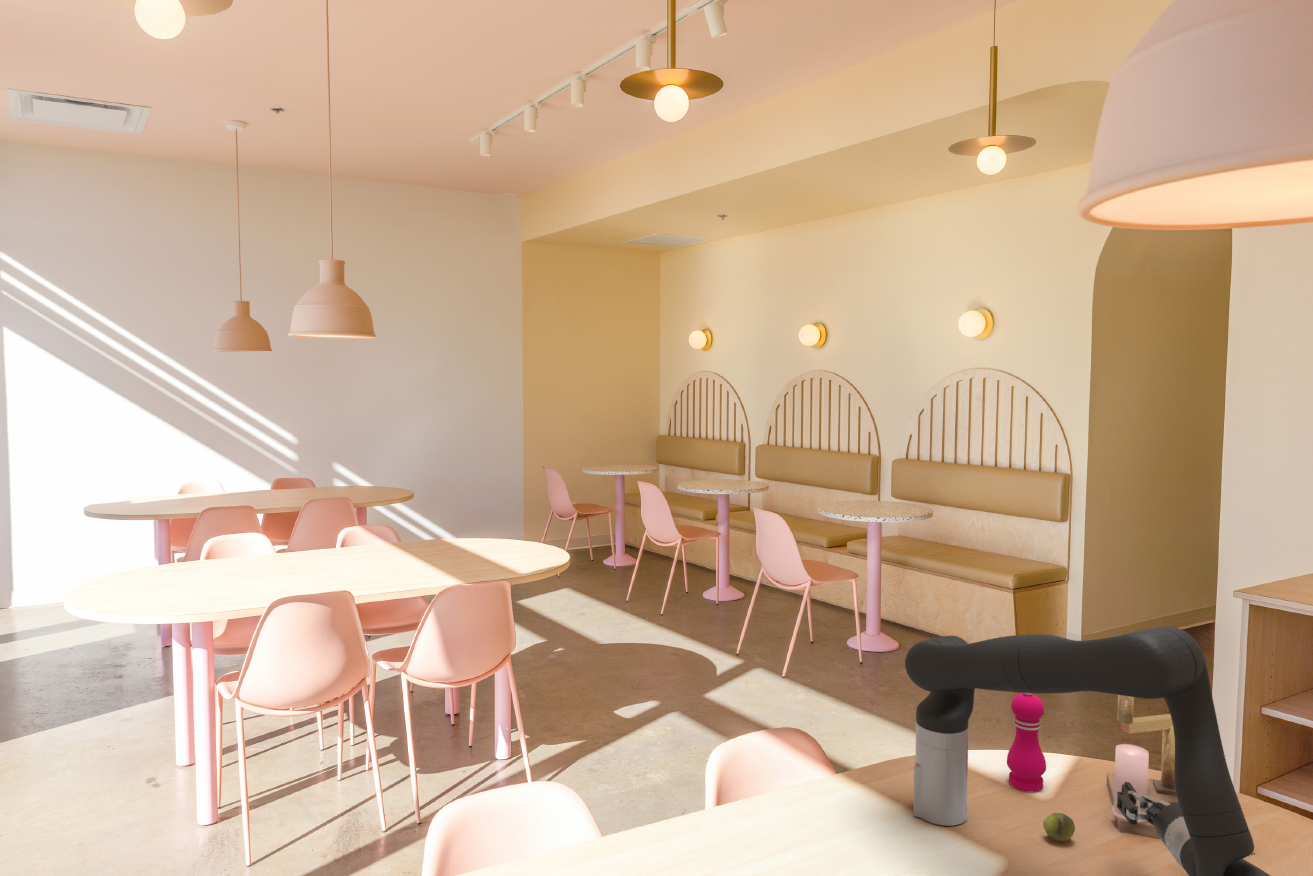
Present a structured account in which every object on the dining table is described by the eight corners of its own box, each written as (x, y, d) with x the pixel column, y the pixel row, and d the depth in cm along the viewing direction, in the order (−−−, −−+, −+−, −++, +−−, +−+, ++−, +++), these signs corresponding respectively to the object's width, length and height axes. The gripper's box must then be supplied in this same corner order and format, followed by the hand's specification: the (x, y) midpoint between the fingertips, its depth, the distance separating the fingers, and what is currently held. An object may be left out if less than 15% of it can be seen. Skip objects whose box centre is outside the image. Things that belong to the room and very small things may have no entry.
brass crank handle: (1179, 776, 165) (1184, 639, 163) (1192, 783, 162) (1197, 643, 160) (1110, 785, 161) (1114, 645, 159) (1122, 792, 158) (1126, 650, 157)
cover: (1113, 819, 152) (1115, 754, 151) (1110, 804, 157) (1111, 741, 156) (1151, 825, 149) (1153, 759, 149) (1146, 810, 155) (1147, 746, 154)
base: (1119, 831, 151) (1119, 816, 151) (1106, 782, 170) (1106, 768, 170) (1252, 854, 144) (1253, 838, 144) (1224, 799, 162) (1224, 785, 162)
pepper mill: (1052, 793, 165) (1054, 693, 164) (1014, 793, 166) (1016, 693, 164) (1036, 776, 173) (1038, 680, 171) (1000, 776, 173) (1002, 680, 171)
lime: (1039, 836, 150) (1039, 809, 150) (1060, 831, 152) (1060, 804, 151) (1059, 849, 146) (1059, 821, 146) (1080, 844, 148) (1081, 816, 147)
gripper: (1248, 821, 124) (1202, 771, 140) (1141, 811, 127) (1108, 764, 143) (1246, 870, 125) (1200, 815, 141) (1140, 860, 128) (1107, 807, 144)
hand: (1154, 789), depth 142 cm, fingers open, 8 cm apart
